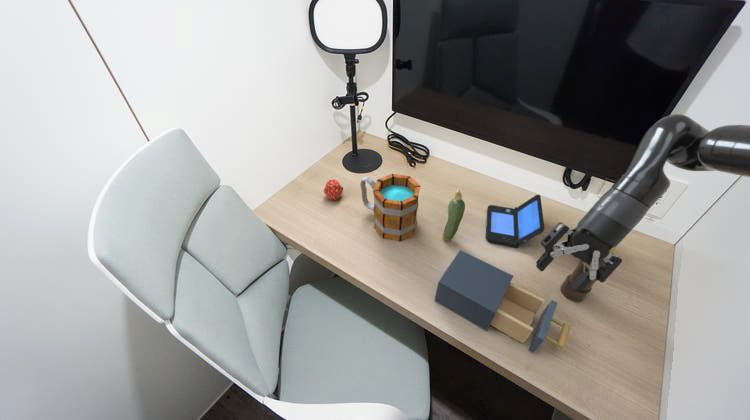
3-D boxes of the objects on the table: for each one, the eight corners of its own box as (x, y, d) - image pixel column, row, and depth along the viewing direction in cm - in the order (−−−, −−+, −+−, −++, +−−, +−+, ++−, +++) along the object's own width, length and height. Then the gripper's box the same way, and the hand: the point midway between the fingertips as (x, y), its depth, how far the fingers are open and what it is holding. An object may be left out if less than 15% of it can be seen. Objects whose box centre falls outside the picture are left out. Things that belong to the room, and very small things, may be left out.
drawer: (565, 326, 72) (578, 312, 68) (553, 365, 66) (566, 352, 62) (495, 290, 80) (502, 274, 75) (478, 322, 74) (485, 307, 69)
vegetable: (448, 232, 95) (459, 180, 81) (459, 240, 93) (473, 189, 79) (438, 239, 93) (448, 188, 79) (449, 248, 91) (462, 196, 77)
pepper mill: (589, 300, 78) (619, 265, 68) (568, 303, 78) (596, 269, 68) (575, 281, 82) (602, 246, 72) (555, 284, 82) (580, 249, 72)
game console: (486, 207, 103) (493, 185, 96) (530, 214, 100) (540, 192, 93) (485, 242, 92) (492, 221, 85) (533, 252, 89) (545, 230, 83)
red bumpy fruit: (327, 205, 108) (324, 185, 111) (346, 201, 108) (343, 181, 111) (322, 198, 102) (320, 177, 105) (342, 194, 102) (339, 173, 105)
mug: (425, 221, 99) (430, 184, 88) (402, 249, 91) (404, 212, 80) (375, 197, 107) (374, 161, 97) (349, 220, 99) (346, 184, 89)
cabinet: (503, 295, 80) (513, 275, 74) (486, 331, 73) (495, 313, 67) (454, 269, 85) (460, 249, 79) (434, 300, 79) (438, 281, 73)
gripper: (591, 203, 57) (533, 270, 62) (656, 243, 57) (593, 306, 62) (572, 193, 64) (521, 254, 69) (630, 228, 64) (575, 286, 70)
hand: (555, 279), depth 66 cm, fingers open, 8 cm apart
